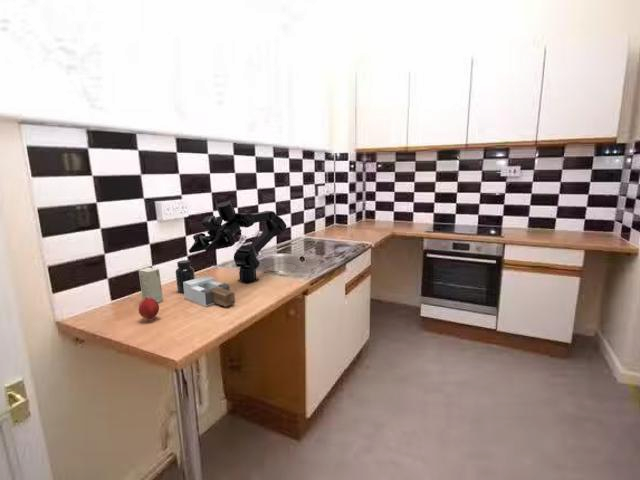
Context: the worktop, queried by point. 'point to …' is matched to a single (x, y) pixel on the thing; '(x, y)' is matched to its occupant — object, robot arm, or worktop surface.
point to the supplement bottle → (183, 274)
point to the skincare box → (151, 284)
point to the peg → (223, 296)
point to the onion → (148, 308)
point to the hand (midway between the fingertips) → (197, 251)
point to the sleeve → (202, 290)
